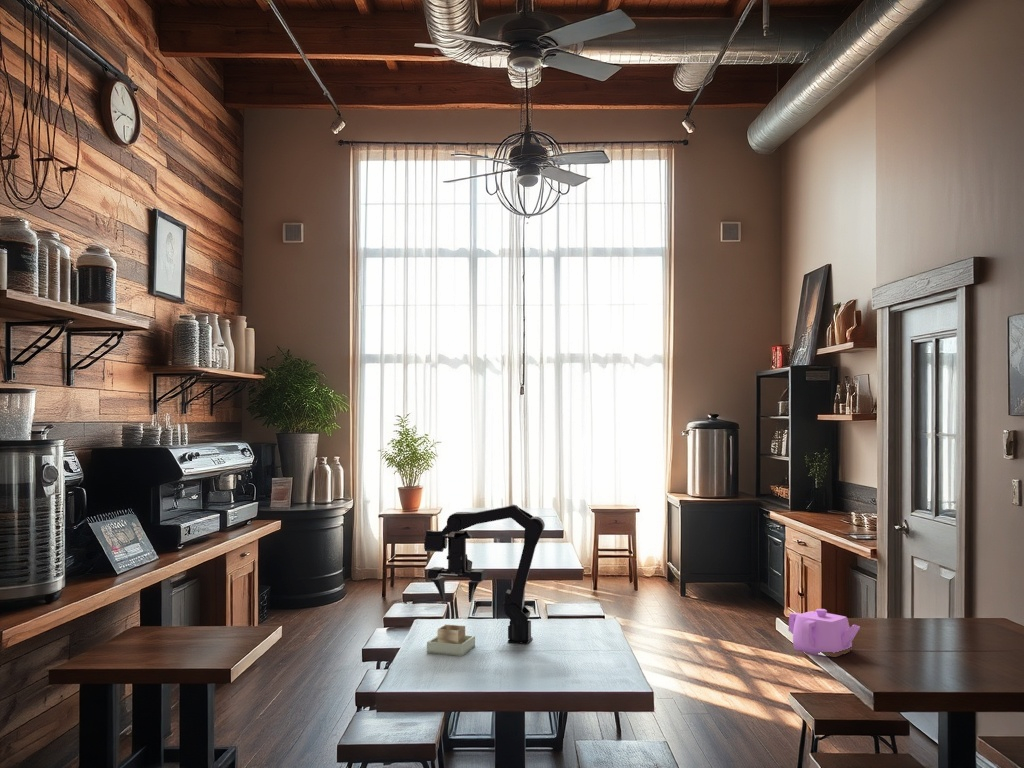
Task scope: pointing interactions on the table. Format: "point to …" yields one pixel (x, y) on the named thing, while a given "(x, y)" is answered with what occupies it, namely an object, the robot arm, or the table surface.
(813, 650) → the teakettle
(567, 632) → the table surface
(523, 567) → the robot arm
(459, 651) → the pale green square tray
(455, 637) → the small crate
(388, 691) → the table surface
